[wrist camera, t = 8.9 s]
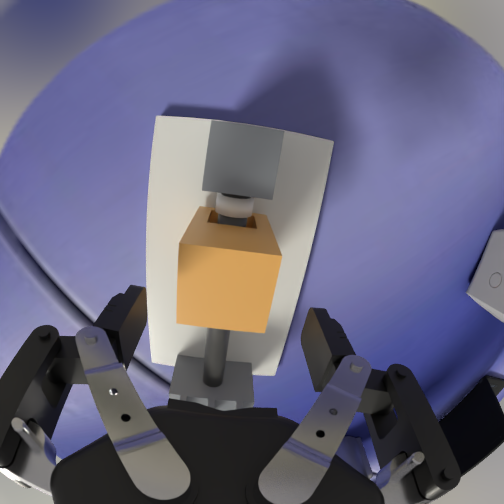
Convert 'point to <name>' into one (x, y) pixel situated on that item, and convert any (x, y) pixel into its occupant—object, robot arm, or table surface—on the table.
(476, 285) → the electrical switch box
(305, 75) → the table surface
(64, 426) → the table surface
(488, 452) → the laptop
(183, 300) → the sleeve
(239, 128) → the cord rig
